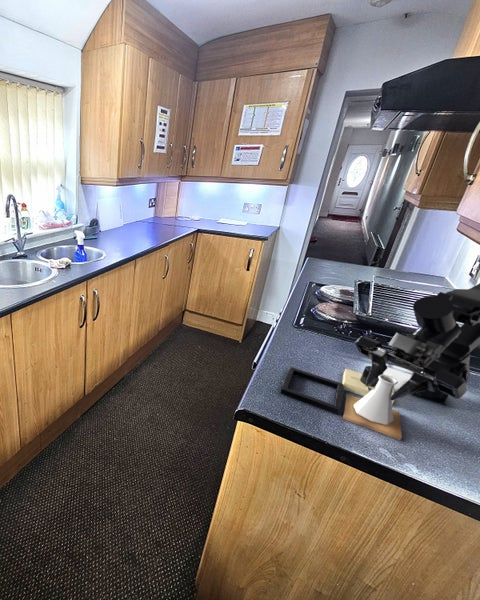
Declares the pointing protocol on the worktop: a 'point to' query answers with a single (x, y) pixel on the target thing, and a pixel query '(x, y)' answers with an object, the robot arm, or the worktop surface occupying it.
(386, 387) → the flask
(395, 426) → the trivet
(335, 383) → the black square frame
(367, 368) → the knob
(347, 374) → the cream flat block
